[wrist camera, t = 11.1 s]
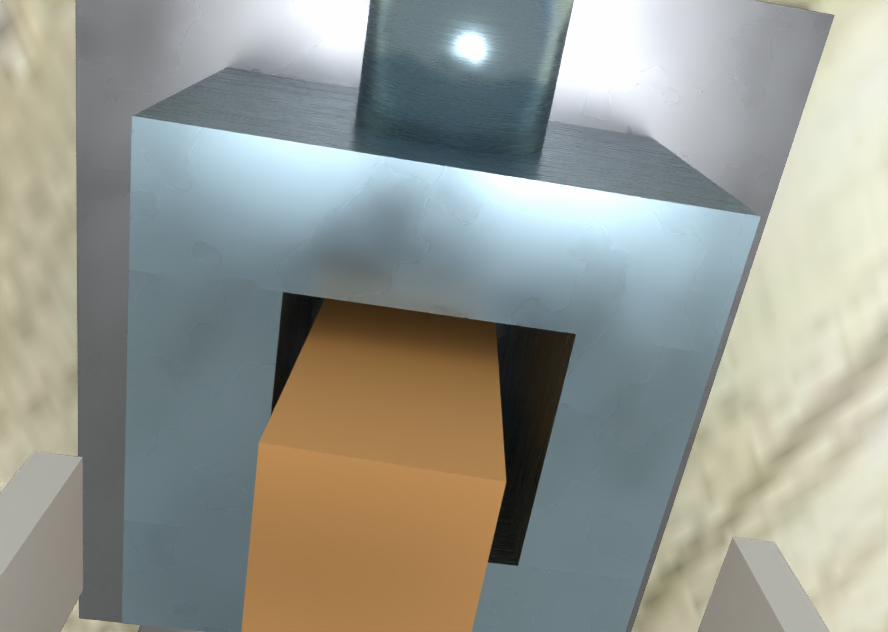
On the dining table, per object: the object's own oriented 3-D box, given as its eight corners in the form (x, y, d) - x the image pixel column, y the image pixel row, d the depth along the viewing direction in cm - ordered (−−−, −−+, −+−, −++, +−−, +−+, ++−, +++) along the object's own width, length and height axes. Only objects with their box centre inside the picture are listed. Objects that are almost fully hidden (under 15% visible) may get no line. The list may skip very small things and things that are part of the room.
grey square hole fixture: (593, 691, 34) (736, 1286, 18) (94, 639, 32) (-203, 1251, 17) (810, 12, 24) (1520, 92, 8) (96, -120, 22) (-650, -321, 7)
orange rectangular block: (490, 251, 24) (506, 481, 13) (467, 371, 26) (462, 667, 15) (356, 228, 24) (258, 442, 13) (341, 350, 26) (241, 634, 15)
